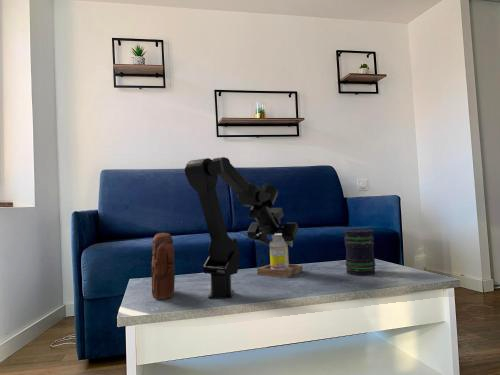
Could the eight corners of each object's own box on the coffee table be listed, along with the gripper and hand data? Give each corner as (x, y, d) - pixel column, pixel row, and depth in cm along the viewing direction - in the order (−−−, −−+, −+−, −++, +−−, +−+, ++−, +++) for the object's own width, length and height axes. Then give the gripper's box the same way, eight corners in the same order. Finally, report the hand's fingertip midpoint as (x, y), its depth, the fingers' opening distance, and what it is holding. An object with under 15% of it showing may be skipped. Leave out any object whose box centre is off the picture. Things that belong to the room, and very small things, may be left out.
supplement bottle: (278, 267, 130) (277, 233, 130) (292, 269, 125) (291, 233, 125) (266, 270, 125) (265, 234, 126) (280, 272, 120) (279, 235, 121)
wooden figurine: (151, 291, 105) (149, 232, 106) (172, 289, 107) (170, 231, 108) (153, 301, 94) (151, 235, 95) (177, 298, 96) (175, 233, 97)
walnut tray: (287, 277, 117) (286, 271, 117) (257, 274, 123) (257, 268, 124) (302, 271, 127) (302, 265, 127) (274, 268, 133) (274, 262, 133)
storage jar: (378, 276, 114) (376, 231, 115) (348, 276, 116) (345, 231, 117) (372, 270, 124) (370, 228, 125) (344, 270, 126) (342, 229, 126)
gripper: (295, 199, 118) (310, 229, 126) (250, 201, 128) (266, 228, 137) (285, 224, 111) (301, 253, 119) (238, 223, 121) (256, 251, 130)
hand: (280, 245), depth 127 cm, fingers open, 9 cm apart
